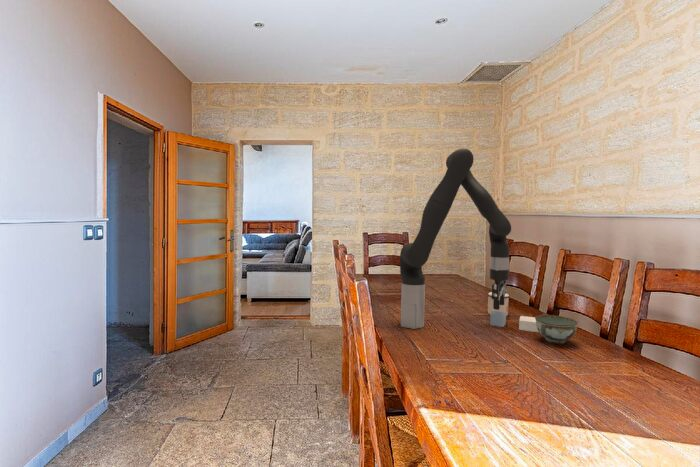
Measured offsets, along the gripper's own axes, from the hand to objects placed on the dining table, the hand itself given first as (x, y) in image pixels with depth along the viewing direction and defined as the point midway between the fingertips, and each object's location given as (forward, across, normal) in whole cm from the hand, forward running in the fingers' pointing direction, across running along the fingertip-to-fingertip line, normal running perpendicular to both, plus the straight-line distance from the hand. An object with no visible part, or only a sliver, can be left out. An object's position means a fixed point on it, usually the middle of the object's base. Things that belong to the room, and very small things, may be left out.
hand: (498, 307), depth 158 cm
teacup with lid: (+8, -18, -5) cm, 21 cm away
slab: (+8, -1, +12) cm, 14 cm away
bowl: (+8, +11, +22) cm, 25 cm away
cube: (+7, 0, 0) cm, 7 cm away
